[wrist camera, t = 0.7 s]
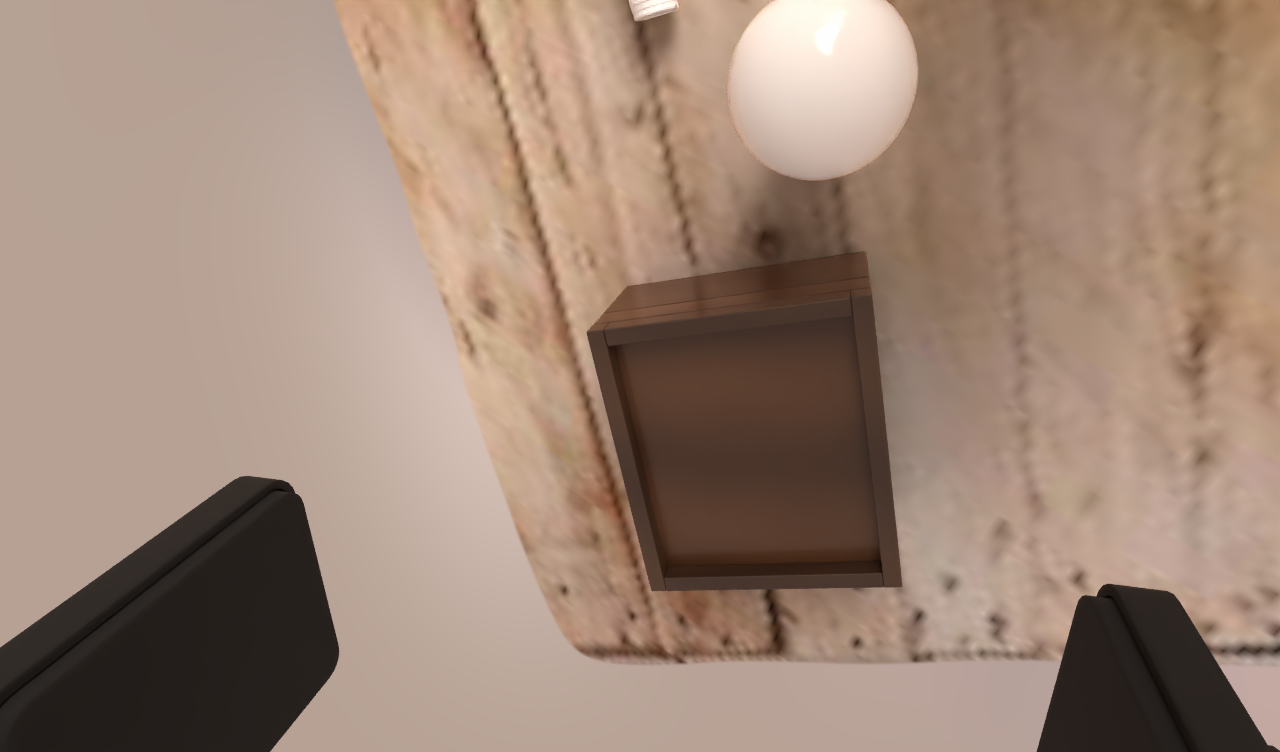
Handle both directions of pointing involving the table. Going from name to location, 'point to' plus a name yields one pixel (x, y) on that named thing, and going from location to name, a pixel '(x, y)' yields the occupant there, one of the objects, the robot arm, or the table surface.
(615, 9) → the table surface
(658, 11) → the marker
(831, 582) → the tray
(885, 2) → the lightbulb
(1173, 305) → the table surface
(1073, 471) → the table surface
